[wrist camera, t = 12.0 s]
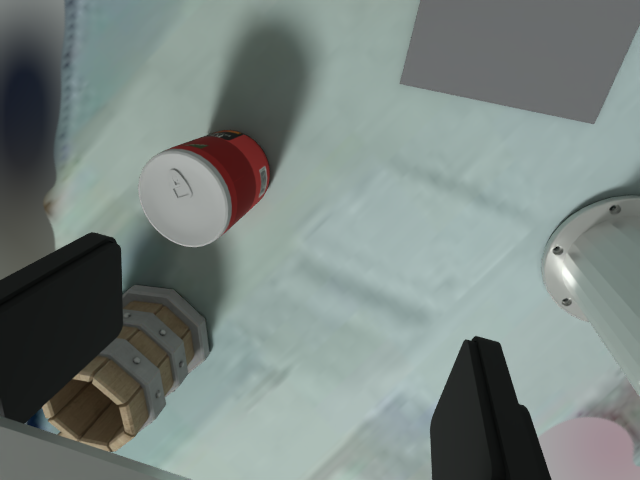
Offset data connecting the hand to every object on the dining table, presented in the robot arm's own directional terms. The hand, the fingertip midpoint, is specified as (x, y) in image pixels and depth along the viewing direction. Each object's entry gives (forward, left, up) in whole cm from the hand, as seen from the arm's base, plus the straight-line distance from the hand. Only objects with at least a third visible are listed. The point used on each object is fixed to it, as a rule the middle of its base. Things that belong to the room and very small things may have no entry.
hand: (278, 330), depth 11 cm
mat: (-9, -13, -30) cm, 34 cm away
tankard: (+23, +32, -31) cm, 50 cm away
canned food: (+13, +6, -31) cm, 34 cm away
